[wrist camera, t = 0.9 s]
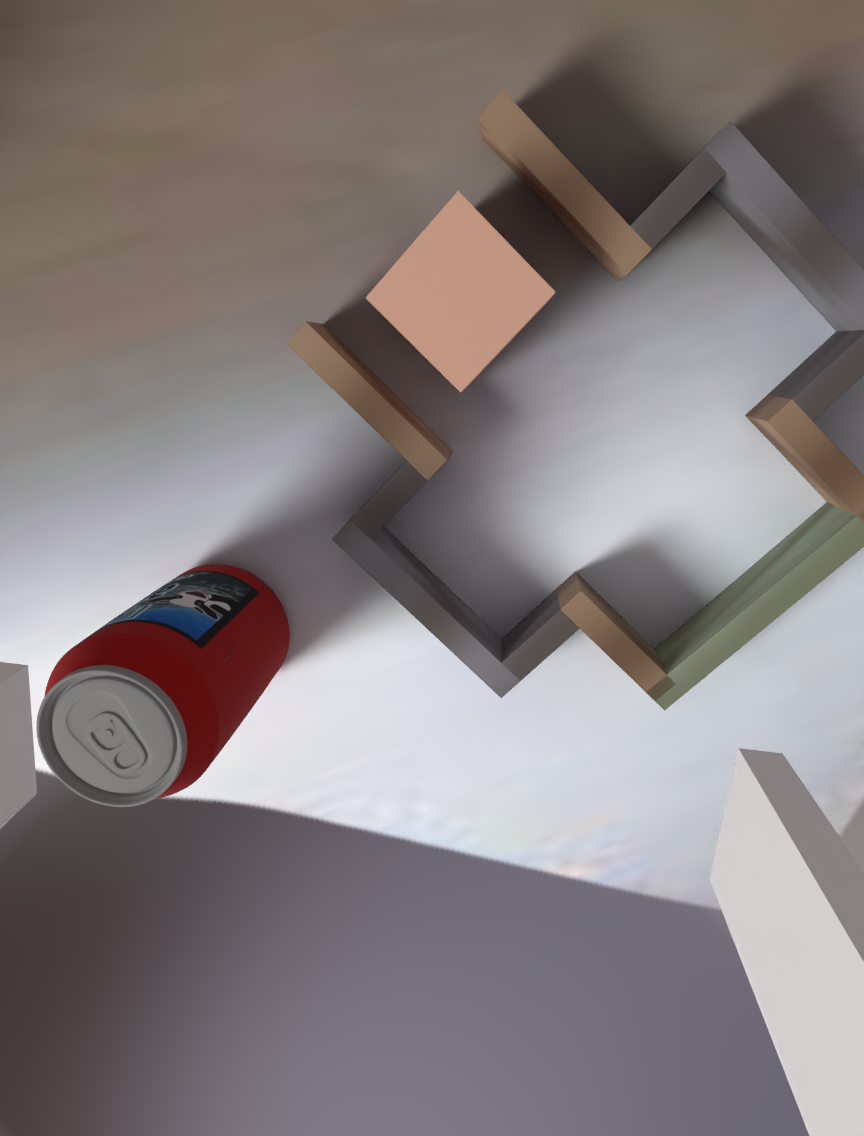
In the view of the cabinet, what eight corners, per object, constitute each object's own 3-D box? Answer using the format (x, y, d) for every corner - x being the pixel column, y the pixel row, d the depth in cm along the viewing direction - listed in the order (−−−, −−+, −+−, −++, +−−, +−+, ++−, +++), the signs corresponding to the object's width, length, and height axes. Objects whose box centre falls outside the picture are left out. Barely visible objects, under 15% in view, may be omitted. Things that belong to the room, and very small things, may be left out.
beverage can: (241, 533, 37) (120, 614, 26) (321, 646, 38) (240, 772, 27) (136, 602, 39) (-22, 709, 27) (216, 709, 40) (97, 854, 28)
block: (385, 305, 34) (365, 297, 29) (465, 214, 33) (458, 190, 28) (467, 386, 34) (460, 392, 30) (549, 300, 33) (555, 291, 28)
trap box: (237, 422, 36) (214, 429, 33) (591, 11, 30) (599, -26, 27) (579, 744, 38) (584, 776, 36) (962, 422, 33) (1006, 429, 30)
